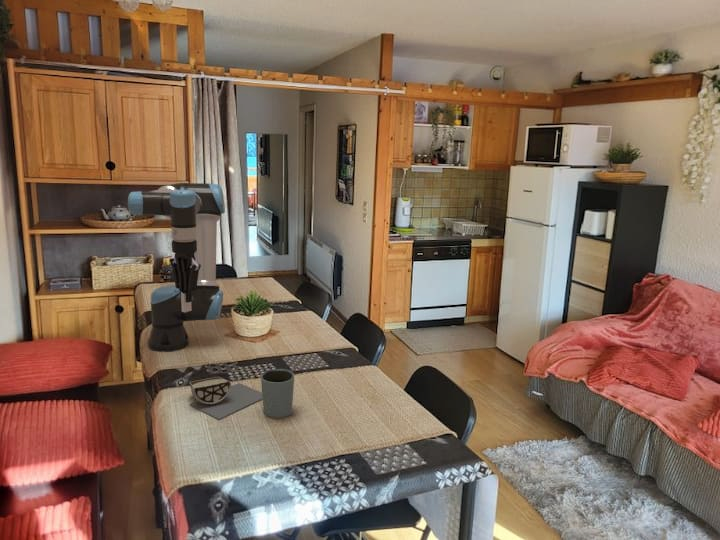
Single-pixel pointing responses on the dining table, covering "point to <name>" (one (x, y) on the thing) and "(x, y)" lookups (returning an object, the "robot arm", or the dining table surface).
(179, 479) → the dining table surface
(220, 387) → the food container
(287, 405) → the grey green cup
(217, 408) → the mat
